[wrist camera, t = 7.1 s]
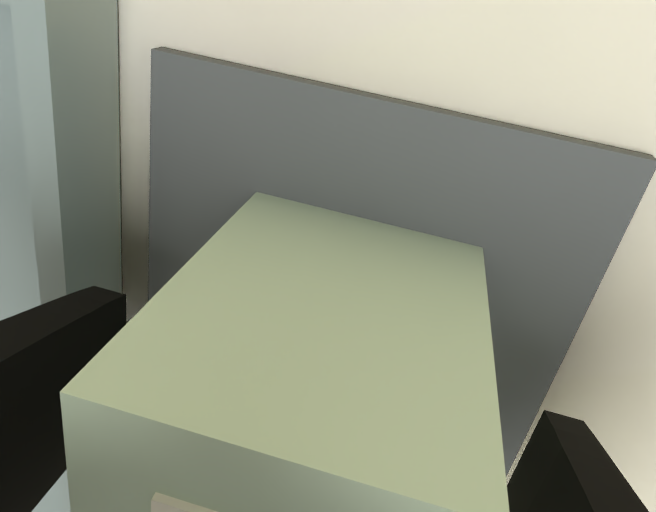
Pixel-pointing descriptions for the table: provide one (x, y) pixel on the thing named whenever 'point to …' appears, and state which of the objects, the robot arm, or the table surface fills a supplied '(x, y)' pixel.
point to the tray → (58, 158)
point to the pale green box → (297, 377)
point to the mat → (398, 194)
